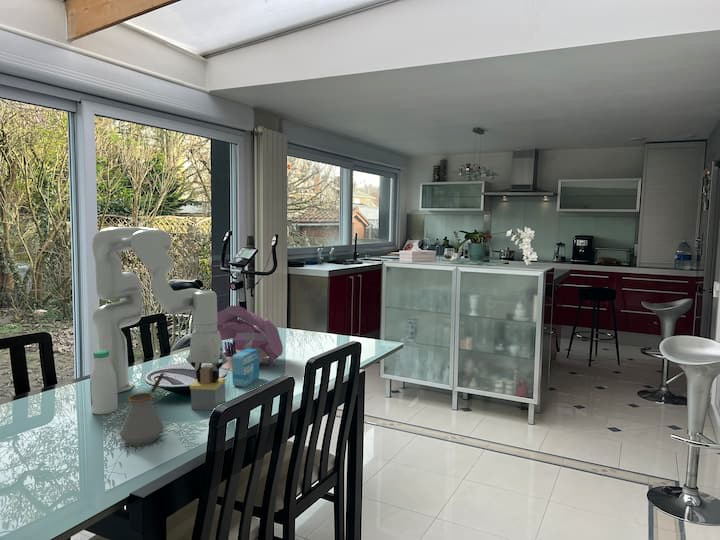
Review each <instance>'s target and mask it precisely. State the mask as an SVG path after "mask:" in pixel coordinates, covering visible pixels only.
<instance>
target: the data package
mask: <svg viewBox="0 0 720 540" xmlns="http://www.w3.org/2000/svg"><path fill="white" fill-rule="evenodd" d="M231 373H232V377H231V378H232V385H233V386H234V387H239V388H240V387H242V388H245V387H247V386H249V385H250V384H252V383H254V382H255V381H257V380H259V378H260V363H259V351H258V350H257V349H248V348H247V349H245V350H243V351H241V352H239V353H237V354H235V355H233V357H232V370H231Z"/></svg>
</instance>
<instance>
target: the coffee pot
mask: <svg viewBox="0 0 720 540" xmlns="http://www.w3.org/2000/svg"><path fill="white" fill-rule="evenodd" d="M164 376H166V377H164ZM167 377H168V375H167V374H166V373H164V372H161V373H160V374H159V376H158V378H157V380H156V381H155V382H154V384H153V385H152V388H151V390H150V392H149V393H148V392H141V393H135V394H132V395H129V396H128V398H127V400H128V402H130V403H129V404H130V407H129V410H128V412H127V415H126V417H125V419H124V422H123V425H122V427H121V429H120V433H119V436H120V438H121V439H122V440H123V441H124V442H126V444H128V443H129V444H128V445H130V446H135V447H136V446H137V447H139V446H146V445H149V444H151V443H154V442H155V441H156V440H157V439H158V438H159V437H160V436H161V434H162V433H163V431H164V425H163V423H162V421H161V420H160V418H159V416H158V414H157V412H156V409H154V406H153V404H152V403H151V402H152V399H153V396H154V395H153V394H154V392H155V391H156V389H157V388H158V387H159V385H160V383H161V381H162V380H163V379H166V378H167Z"/></svg>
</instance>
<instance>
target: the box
mask: <svg viewBox="0 0 720 540" xmlns="http://www.w3.org/2000/svg"><path fill="white" fill-rule="evenodd" d="M225 402H226V381H225V382H224V383H223V384H222V385H221V386H220V387H219V388H217V389H216V390H200V389H190V405H191V406H190V407H191V410H195V411H196V410H199V411H214V410H213V409H214V408H216V407H217V406H218V405H220V404H222V403H223V404H224V403H225ZM223 404H222V405H223Z"/></svg>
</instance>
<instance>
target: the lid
mask: <svg viewBox="0 0 720 540" xmlns="http://www.w3.org/2000/svg"><path fill="white" fill-rule="evenodd" d="M212 371H214V369H213V365H212V364H205V365H204V366H203V367H202V368H201V369H200V382H198V381H197V379H196V380H195V381H194V382H192V383H191V384H189V390H191V389H200V390H216V389H217V388H219V387H220V386H221V385H222V384H223V383H224V382H225V383H226V381H227V380H226V377H219V379H218V381H216V382H215V383H213V379H212Z"/></svg>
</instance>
